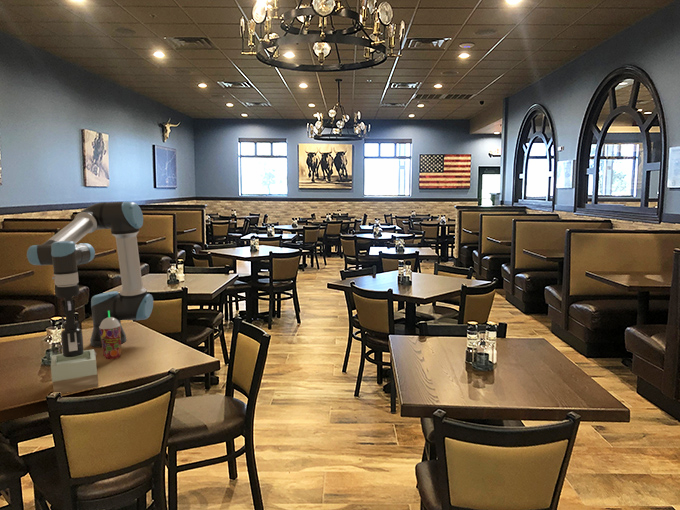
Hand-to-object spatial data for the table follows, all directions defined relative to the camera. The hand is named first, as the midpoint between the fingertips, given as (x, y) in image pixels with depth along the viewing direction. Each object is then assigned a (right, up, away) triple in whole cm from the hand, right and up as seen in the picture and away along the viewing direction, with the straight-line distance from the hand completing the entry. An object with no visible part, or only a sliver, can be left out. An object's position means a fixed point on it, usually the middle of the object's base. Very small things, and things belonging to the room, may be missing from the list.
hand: (72, 347), depth 187 cm
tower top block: (0, -9, +1) cm, 9 cm away
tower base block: (0, -14, +1) cm, 14 cm away
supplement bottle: (0, -3, 0) cm, 3 cm away
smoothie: (+1, -10, +32) cm, 33 cm away
